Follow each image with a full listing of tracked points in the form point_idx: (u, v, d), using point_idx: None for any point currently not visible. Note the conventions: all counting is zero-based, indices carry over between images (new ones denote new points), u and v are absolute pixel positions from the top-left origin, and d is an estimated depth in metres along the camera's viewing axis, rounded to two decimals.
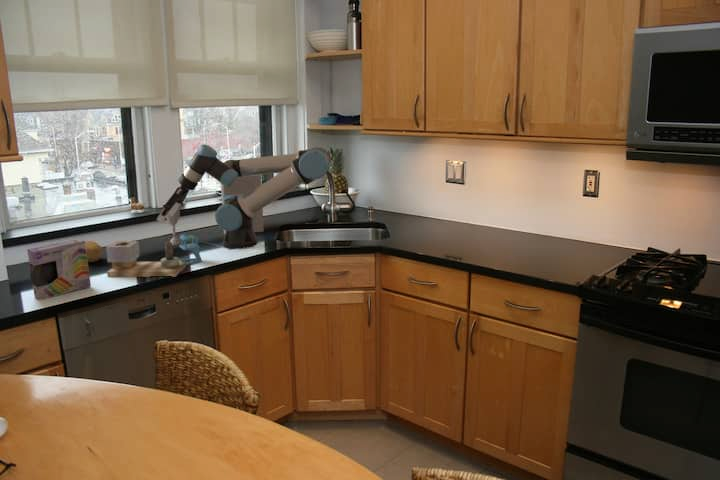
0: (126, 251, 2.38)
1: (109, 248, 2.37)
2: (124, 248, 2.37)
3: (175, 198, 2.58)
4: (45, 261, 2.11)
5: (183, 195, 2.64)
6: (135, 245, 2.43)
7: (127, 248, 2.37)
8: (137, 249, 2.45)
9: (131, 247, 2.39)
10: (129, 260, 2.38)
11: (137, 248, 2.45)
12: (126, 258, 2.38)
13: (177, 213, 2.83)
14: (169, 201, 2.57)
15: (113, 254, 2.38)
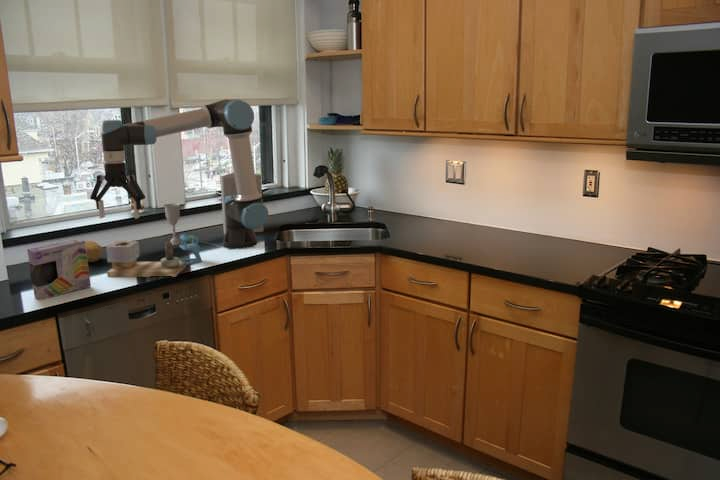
0: (126, 251, 2.38)
1: (109, 248, 2.37)
2: (124, 248, 2.37)
3: (137, 184, 2.37)
4: (45, 261, 2.11)
5: None
6: (135, 245, 2.43)
7: (127, 248, 2.37)
8: (137, 249, 2.45)
9: (131, 247, 2.39)
10: (129, 260, 2.38)
11: (137, 248, 2.45)
12: (126, 258, 2.38)
13: (177, 213, 2.83)
14: (139, 191, 2.36)
15: (113, 254, 2.38)
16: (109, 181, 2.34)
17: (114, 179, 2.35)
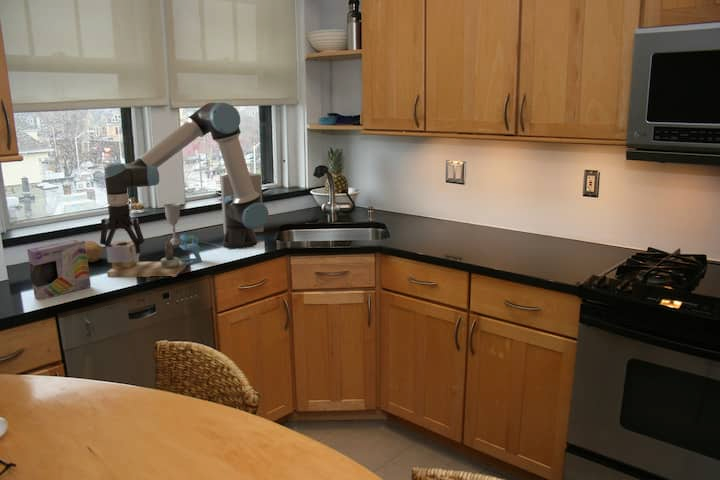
0: (126, 251, 2.38)
1: (109, 248, 2.37)
2: (124, 248, 2.37)
3: (139, 228, 2.41)
4: (45, 261, 2.11)
5: None
6: None
7: (127, 248, 2.37)
8: None
9: (131, 247, 2.39)
10: (129, 260, 2.38)
11: None
12: (126, 258, 2.38)
13: (177, 213, 2.83)
14: (140, 235, 2.40)
15: (113, 254, 2.38)
16: (113, 223, 2.38)
17: (118, 220, 2.38)
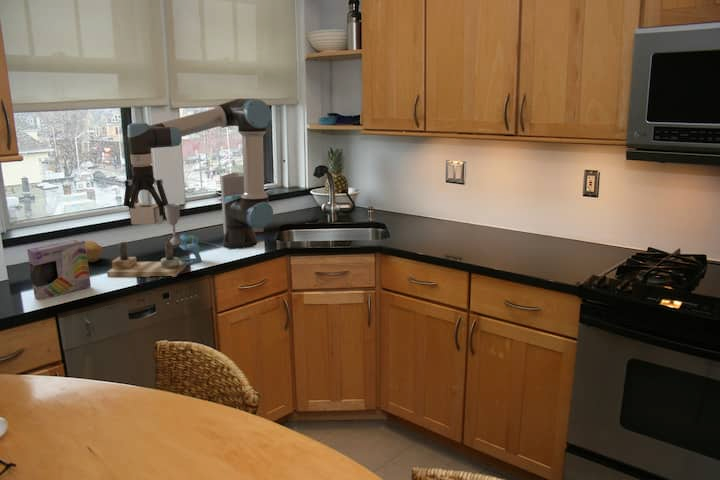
0: (150, 212, 2.34)
1: (133, 210, 2.34)
2: (148, 209, 2.34)
3: (163, 190, 2.37)
4: (45, 261, 2.11)
5: None
6: None
7: (151, 209, 2.33)
8: None
9: (155, 209, 2.35)
10: (153, 222, 2.35)
11: None
12: (150, 220, 2.34)
13: (177, 213, 2.83)
14: (164, 196, 2.36)
15: (137, 216, 2.34)
16: (137, 184, 2.34)
17: (141, 181, 2.34)
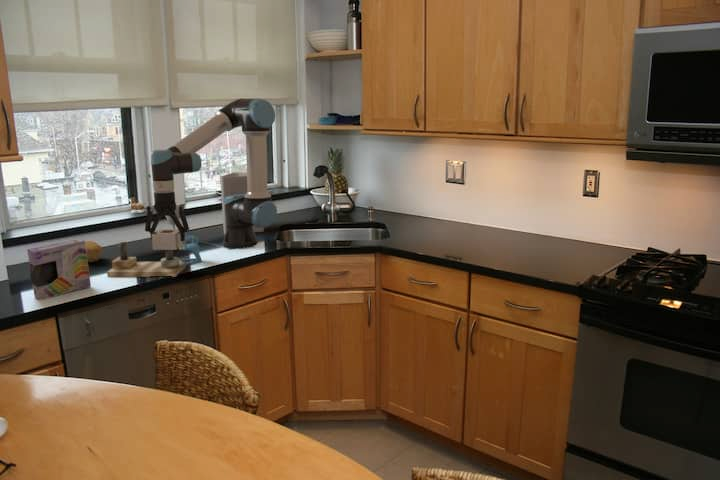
0: (172, 238, 2.36)
1: (154, 235, 2.36)
2: (170, 235, 2.35)
3: (184, 216, 2.39)
4: (45, 261, 2.11)
5: None
6: None
7: (173, 235, 2.35)
8: None
9: (176, 234, 2.37)
10: (174, 247, 2.36)
11: None
12: (171, 245, 2.36)
13: (177, 213, 2.83)
14: (185, 222, 2.38)
15: (158, 241, 2.36)
16: (159, 210, 2.36)
17: (163, 207, 2.36)
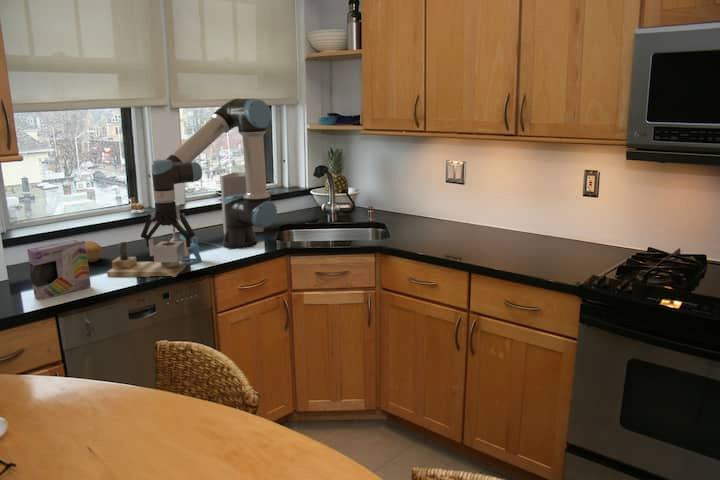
0: (173, 251, 2.37)
1: (156, 248, 2.37)
2: (171, 248, 2.37)
3: (187, 223, 2.39)
4: (45, 261, 2.11)
5: None
6: (181, 245, 2.42)
7: (174, 248, 2.37)
8: (183, 249, 2.44)
9: (178, 247, 2.38)
10: (176, 260, 2.38)
11: (183, 248, 2.44)
12: (173, 258, 2.38)
13: (177, 213, 2.83)
14: (189, 229, 2.39)
15: (160, 254, 2.37)
16: (160, 220, 2.37)
17: (164, 218, 2.37)
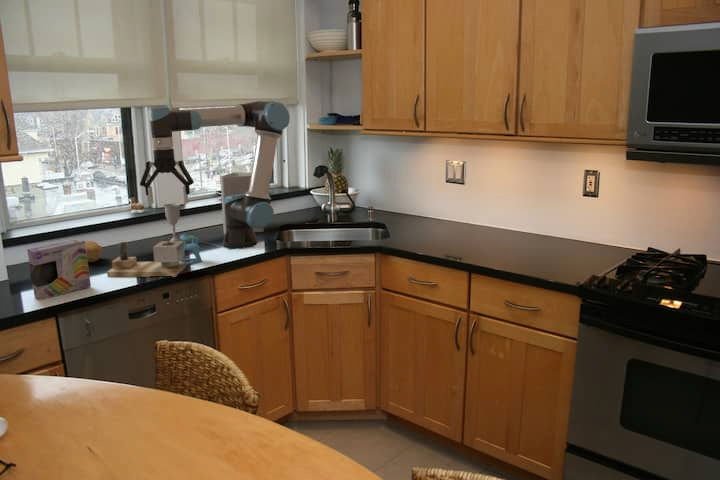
0: (173, 251, 2.37)
1: (156, 248, 2.37)
2: (171, 248, 2.37)
3: (186, 170, 2.41)
4: (45, 261, 2.11)
5: None
6: (181, 245, 2.42)
7: (174, 248, 2.37)
8: (183, 249, 2.44)
9: (178, 247, 2.38)
10: (176, 260, 2.38)
11: (183, 248, 2.44)
12: (173, 258, 2.38)
13: (177, 213, 2.83)
14: (188, 176, 2.40)
15: (160, 254, 2.37)
16: (158, 167, 2.38)
17: (163, 165, 2.39)
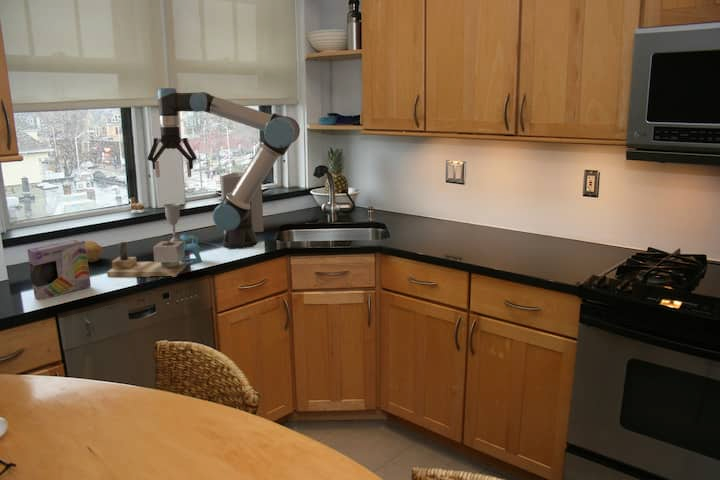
0: (173, 251, 2.37)
1: (156, 248, 2.37)
2: (171, 248, 2.37)
3: (190, 146, 2.62)
4: (45, 261, 2.11)
5: None
6: (181, 245, 2.42)
7: (174, 248, 2.37)
8: (183, 249, 2.44)
9: (178, 247, 2.38)
10: (176, 260, 2.38)
11: (183, 248, 2.44)
12: (173, 258, 2.38)
13: (177, 213, 2.83)
14: (192, 152, 2.62)
15: (160, 254, 2.37)
16: (165, 143, 2.60)
17: (169, 141, 2.60)
